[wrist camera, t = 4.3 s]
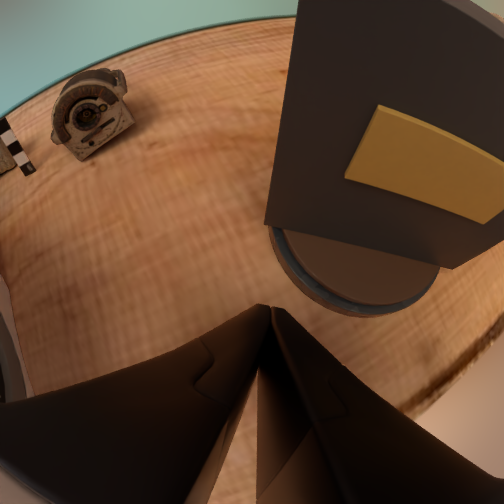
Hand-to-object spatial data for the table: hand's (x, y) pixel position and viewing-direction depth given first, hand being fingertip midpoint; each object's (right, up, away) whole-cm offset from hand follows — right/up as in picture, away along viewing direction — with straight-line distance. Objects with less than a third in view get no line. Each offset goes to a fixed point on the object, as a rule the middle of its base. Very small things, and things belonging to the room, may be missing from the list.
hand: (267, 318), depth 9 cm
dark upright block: (+8, +5, +11) cm, 14 cm away
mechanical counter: (-16, +16, +16) cm, 27 cm away
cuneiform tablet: (-28, +10, +14) cm, 33 cm away
